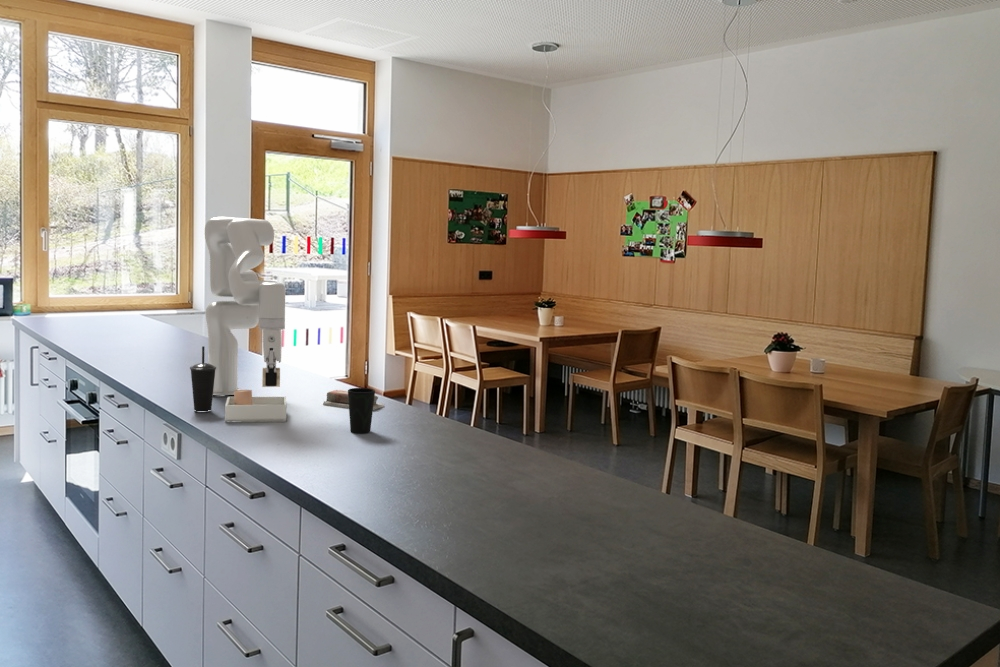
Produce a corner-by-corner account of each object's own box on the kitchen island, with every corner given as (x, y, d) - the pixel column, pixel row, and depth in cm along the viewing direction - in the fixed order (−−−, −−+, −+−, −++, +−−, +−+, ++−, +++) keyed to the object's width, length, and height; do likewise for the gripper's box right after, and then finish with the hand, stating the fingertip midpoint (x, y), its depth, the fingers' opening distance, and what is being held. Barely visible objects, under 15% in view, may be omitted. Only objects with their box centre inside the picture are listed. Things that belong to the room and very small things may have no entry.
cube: (262, 384, 247) (262, 367, 246) (279, 383, 248) (279, 367, 248) (262, 386, 242) (262, 370, 241) (279, 386, 243) (280, 370, 243)
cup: (368, 435, 229) (369, 393, 227) (342, 433, 230) (343, 391, 229) (377, 429, 236) (379, 389, 235) (352, 427, 238) (353, 386, 236)
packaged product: (322, 391, 267) (339, 387, 276) (321, 406, 268) (339, 401, 277) (369, 398, 260) (385, 393, 270) (368, 413, 261) (385, 407, 270)
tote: (227, 412, 249) (227, 396, 249) (285, 412, 254) (286, 396, 253) (224, 422, 237) (225, 405, 236) (286, 421, 241) (286, 405, 241)
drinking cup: (198, 414, 245) (199, 348, 243) (184, 410, 249) (184, 346, 247) (221, 411, 251) (221, 347, 249) (206, 407, 255) (207, 344, 253)
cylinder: (250, 411, 248) (249, 389, 247) (254, 414, 244) (253, 391, 243) (233, 413, 245) (232, 390, 244) (237, 416, 241) (236, 393, 240)
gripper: (285, 327, 236) (284, 389, 238) (284, 321, 252) (283, 379, 254) (258, 326, 234) (257, 389, 236) (259, 321, 250) (258, 379, 252)
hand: (271, 383), depth 245 cm, fingers closed on cube, 5 cm apart
